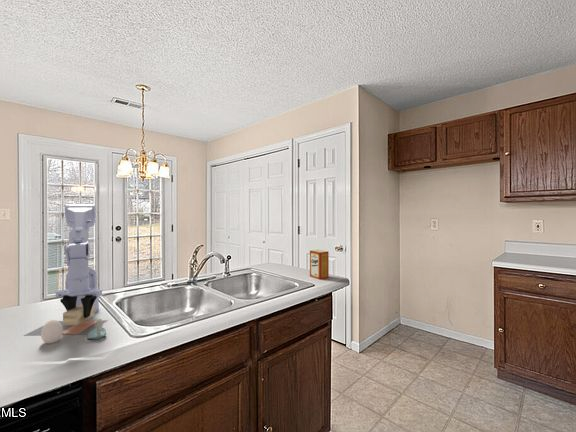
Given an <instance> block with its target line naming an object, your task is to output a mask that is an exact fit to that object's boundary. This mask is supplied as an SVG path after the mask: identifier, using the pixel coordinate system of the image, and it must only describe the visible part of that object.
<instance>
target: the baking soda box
mask: <svg viewBox="0 0 576 432" xmlns="http://www.w3.org/2000/svg"><path fill="white" fill-rule="evenodd" d="M329 254H330V253H329V251H327V250H321V249H313V250H309V277H311V278H313V279H317V280H326V279H329V274H330V273H329V268H330V267H329V262H330V261H329V256H330V255H329Z"/></svg>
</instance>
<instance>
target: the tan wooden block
mask: <svg viewBox="0 0 576 432" xmlns="http://www.w3.org/2000/svg"><path fill="white" fill-rule="evenodd" d="M95 313H96V312H95V304H93V306H92V309H91V313H90V316H89V317H87V318H84V313H83V305H79V306H77V307H75V308H73V309H71V310H69V311H67V310H66V311H64V312H63V313H62V321H63V325H78V324H80V323H81V322H83V321H88V319H90V318H92V317H94V316H95Z"/></svg>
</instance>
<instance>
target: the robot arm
mask: <svg viewBox="0 0 576 432" xmlns="http://www.w3.org/2000/svg"><path fill="white" fill-rule="evenodd" d="M64 216H65V217H64V218H65V222H66V224H67V227H69V228H72V229H71V230H70V231H69V233H68V242H67V245H66V246H65V258H66V265H67V266H66V267H67V273H66V275H65V281H64V284H65V286H64V289H58V290H56V291H55V298H60V297H62V298H61V299H59V301H60V303H61V304H62V305H63V307H64V308H65V310H66V312H67V311H69V310H71V309H73V308H75V307H77V306H79V305H83V313H84V318H87V317H89V316H90V313H91V309H92V306H93V304H95V313H97V312H99V311H100V310H102V309H101V308H100V305H99V301H100V300H99V299H100V297H101V296H102V295H103V289H102V288H101V289H98V284H97V283H98V282H97V280H98V277H97V271H96V269H94V268H92V267H90V266H89V259H90V255H91V252H90V250H91V249H90V242H89V231H90V228H92V227H94V226H95V224H96V204H94V203H92V204H86V203H85V204H83V203H82V204H81V203H80V204H69V203H67V204H65V206H64Z"/></svg>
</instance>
